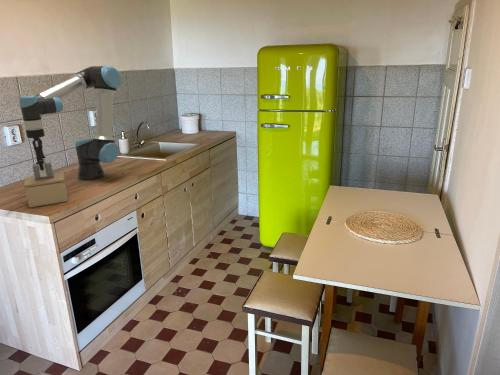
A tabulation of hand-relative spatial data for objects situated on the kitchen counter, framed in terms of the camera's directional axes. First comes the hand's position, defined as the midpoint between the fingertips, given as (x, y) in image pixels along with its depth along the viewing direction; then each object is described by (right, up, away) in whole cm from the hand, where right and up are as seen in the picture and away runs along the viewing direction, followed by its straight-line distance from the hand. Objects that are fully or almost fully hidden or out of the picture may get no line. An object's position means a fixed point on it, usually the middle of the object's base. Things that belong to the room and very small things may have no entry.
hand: (43, 173), depth 187 cm
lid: (0, -3, +1) cm, 3 cm away
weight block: (0, -2, +1) cm, 2 cm away
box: (0, -13, +4) cm, 14 cm away
